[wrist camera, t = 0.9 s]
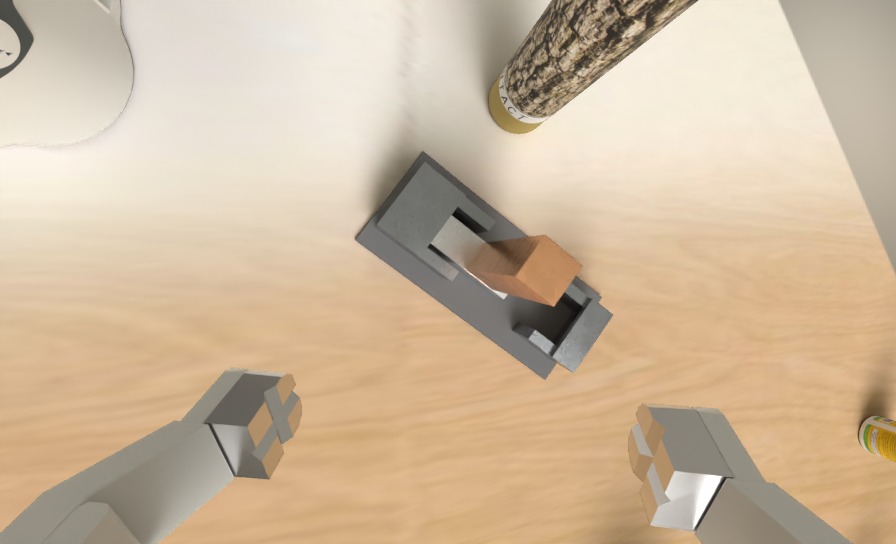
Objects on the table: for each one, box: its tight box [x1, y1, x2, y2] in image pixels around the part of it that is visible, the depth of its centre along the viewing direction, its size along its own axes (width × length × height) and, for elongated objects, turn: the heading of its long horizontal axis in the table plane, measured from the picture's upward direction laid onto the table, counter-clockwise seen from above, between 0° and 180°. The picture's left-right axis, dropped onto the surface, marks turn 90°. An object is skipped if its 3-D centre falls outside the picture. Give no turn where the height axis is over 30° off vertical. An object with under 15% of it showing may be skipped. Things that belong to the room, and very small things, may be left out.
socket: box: [512, 283, 613, 373], centre depth 42 cm, size 6×7×5 cm
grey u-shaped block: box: [376, 162, 496, 281], centre depth 39 cm, size 9×7×5 cm
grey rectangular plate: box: [356, 151, 602, 380], centre depth 43 cm, size 27×12×1 cm, turn 53°
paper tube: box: [489, 0, 698, 134], centre depth 31 cm, size 7×7×25 cm
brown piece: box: [429, 215, 582, 307], centre depth 33 cm, size 15×4×17 cm, turn 53°
